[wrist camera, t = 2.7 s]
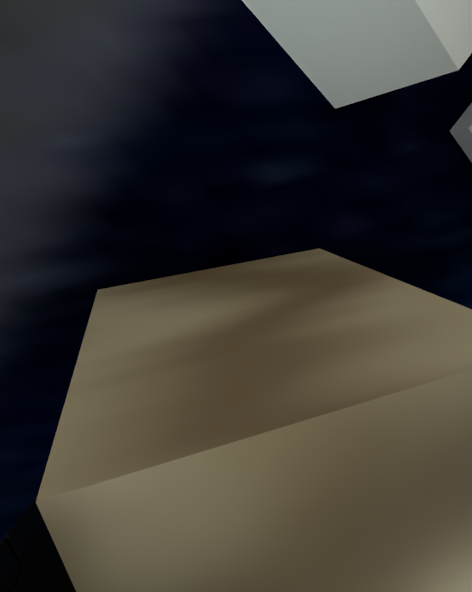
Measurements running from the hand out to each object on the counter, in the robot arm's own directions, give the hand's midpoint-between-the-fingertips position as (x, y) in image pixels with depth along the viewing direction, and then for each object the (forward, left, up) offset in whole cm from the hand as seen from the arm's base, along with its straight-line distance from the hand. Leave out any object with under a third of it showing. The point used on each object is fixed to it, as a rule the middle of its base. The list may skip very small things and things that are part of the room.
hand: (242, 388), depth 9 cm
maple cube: (0, 0, -1) cm, 1 cm away
